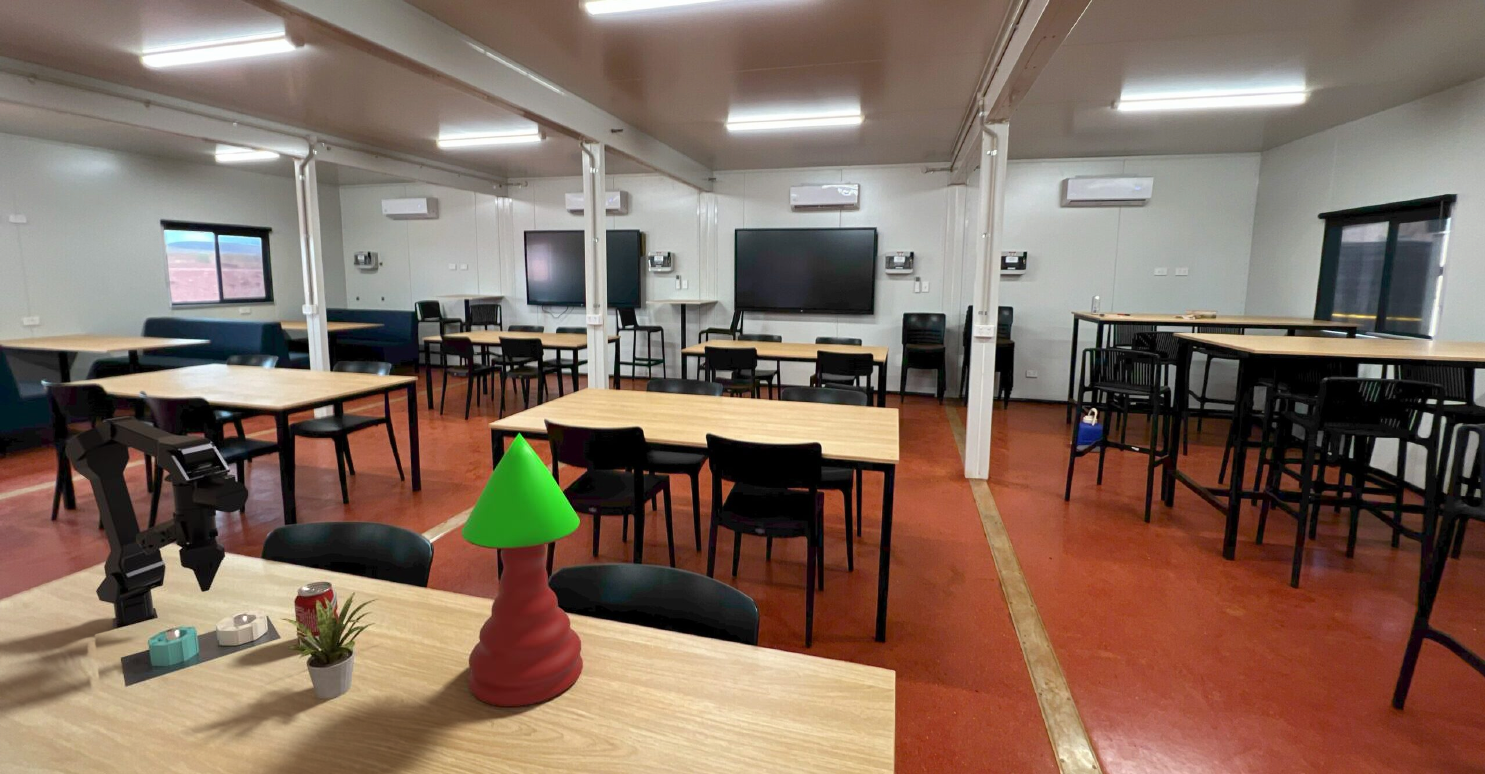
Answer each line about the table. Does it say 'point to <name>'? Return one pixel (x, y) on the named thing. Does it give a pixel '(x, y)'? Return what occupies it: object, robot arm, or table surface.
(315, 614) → the soda can
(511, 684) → the table lamp
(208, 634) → the gear board
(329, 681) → the house plant
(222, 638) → the cream gear
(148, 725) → the table surface
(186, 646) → the teal blocky piece
